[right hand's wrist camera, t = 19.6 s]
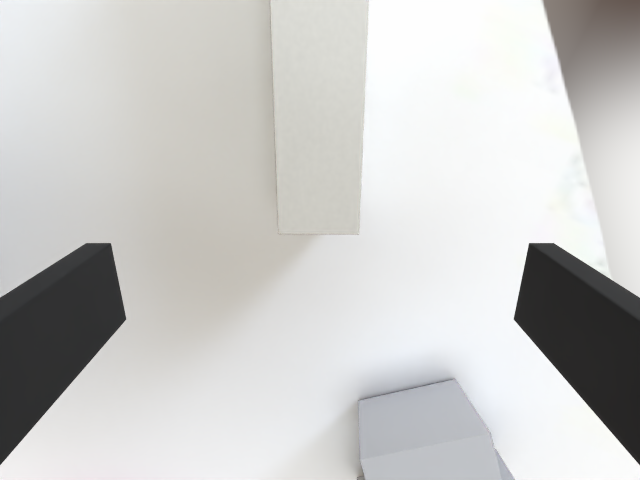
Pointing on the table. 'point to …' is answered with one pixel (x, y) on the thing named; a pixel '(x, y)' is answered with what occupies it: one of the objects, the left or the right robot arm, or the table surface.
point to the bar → (319, 113)
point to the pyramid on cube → (426, 437)
